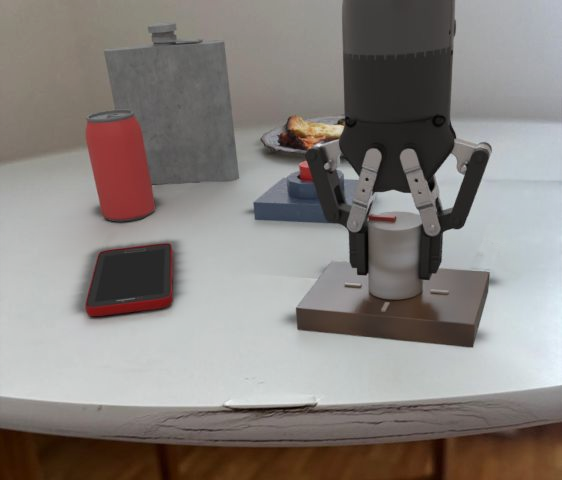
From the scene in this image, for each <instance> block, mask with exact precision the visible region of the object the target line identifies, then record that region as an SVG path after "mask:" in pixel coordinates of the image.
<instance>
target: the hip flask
mask: <svg viewBox="0 0 562 480" xmlns="http://www.w3.org/2000/svg"><path fill="white" fill-rule="evenodd" d="M177 30H178V29H177V23H176V22H160V23H155V24H150V25H147V31H148V33H149V34H151V36H150V37H151V42H152V44H143V45H133V46H120V47H112V48H107V49H103V53H104V59H105V65H106V69H107V75H108V80H109V85H110V90H111V97H112V101H113V106H114V110H121V109H124V110H132V111H133V112H134V116H135V118H136V119H137V121H138V123H139V125H140V127H141V130H142V134H143V140H144V146H145V151H146V157H147V163H148V168H149V174H150V180H151V186H153V185H152V184H157V185H167V184H166V183H172V184H186V183H185V182H196V183H203V182H205V183H206V182H207V183H208V182H210V183H211V182H212V183H213V182H216V183H228V182H233V181H237V180H239V178H240V175H239V173H240V171H239V165H238V156H237V146H236V136H235V129H234V127H235V126H234V118H233V117H234V116H233V109H232V101H231V100H232V99H231V89H230V83H229V82H230V81H229V72H228V64H227V63H228V62H227V55H226V44H225V41H224V40H219V39H218V40H204V38H178V37H177V34H175V31H177Z"/></svg>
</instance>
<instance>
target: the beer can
mask: <svg viewBox="0 0 562 480" xmlns="http://www.w3.org/2000/svg"><path fill="white" fill-rule="evenodd" d="M85 120H86V126H85V142H86V143H85V144H86V146H87V151H88V156H89V160H90V166H91V170H92V175H93V179H94V184H95V189H96V192H97V197H98V202H99V206H100V211H101V215H102V216H103V217H104V218H105V219H106V220H108V221H111V222H120V223H121V222H123V223H124V221H125V222H132V220H133V221H138V220H141V219H144V218H146V217H148V216H150V215H151V214H152V213H153V212H154V211H155V207H156V203H155V197H154V192H153V185H151V180H150V174H149V168H148V163H147V157H146V151H145V146H144V140H143V134H142V130H141V127H140V125H139V123H138V121H137V119H136V118H135V116H134V112H133V111H132V110H124V109H121V110H115V109H109V110H101V111H98V112H93V113H90V114H89V115H87V116H86V118H85ZM137 219H138V220H137Z"/></svg>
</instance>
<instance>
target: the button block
mask: <svg viewBox="0 0 562 480" xmlns="http://www.w3.org/2000/svg"><path fill="white" fill-rule="evenodd" d="M336 170H337V173H338V176H339V180H340V183H341V186H342V189H343V193H344V196H345V199H346V203H347V204H348V205H350V206H352V204H353V197H354V194H355V190H356V187H357V184H358V180H359V179H351V178H350V179H347V178H346V179H345V174H344V172H342V170H340V169H336ZM252 205H253V214H254V220H255V221H268V222H269V221H270V222H271V221H273V222H293V223H313V224H315V223H316V224H330V223H329V222H327V221H326V219H325V216H324V213H323V210H322V207H321V204H320V201H319V198H318V195H317V192H316V188H315V185H314V182H313V181H304V180H300V173H299V170H298V171H294V172H291V173H290V174H289V175H287V176H286V177H283V178H281V179H279V181H277V182H276V183H275V184H274V185H273V186H271V187H270V188H269V189H267V191H265V192H264V193H262V195H260V196H259V197H258V198H257V199H255V200H254V201H253V204H252ZM332 224H334V225H335V224H336V225H339V224H338V223H332Z"/></svg>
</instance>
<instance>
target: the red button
mask: <svg viewBox="0 0 562 480" xmlns="http://www.w3.org/2000/svg"><path fill="white" fill-rule="evenodd" d="M298 171H299V173H300V180H304V181H313V179H312V176H311V173H310V170H309V167H308V164H307V160H304V161H301V162H300V163H299V164H298Z"/></svg>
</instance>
